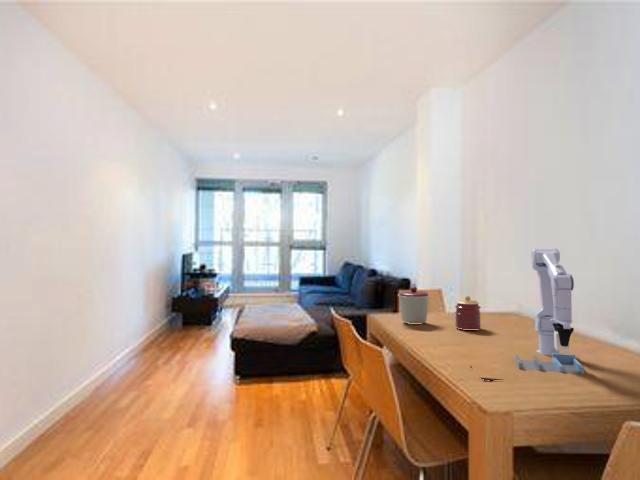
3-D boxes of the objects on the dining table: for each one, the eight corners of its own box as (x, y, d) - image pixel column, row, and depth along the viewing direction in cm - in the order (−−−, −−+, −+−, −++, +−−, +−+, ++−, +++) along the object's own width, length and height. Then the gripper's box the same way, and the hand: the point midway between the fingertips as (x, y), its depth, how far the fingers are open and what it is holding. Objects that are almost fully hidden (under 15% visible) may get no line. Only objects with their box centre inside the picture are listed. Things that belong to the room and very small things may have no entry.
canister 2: (484, 331, 217) (484, 297, 217) (459, 331, 217) (459, 297, 217) (475, 326, 230) (475, 294, 230) (452, 326, 230) (451, 294, 230)
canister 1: (392, 322, 244) (391, 286, 244) (417, 319, 251) (416, 284, 251) (411, 328, 227) (410, 289, 227) (437, 324, 235) (436, 287, 235)
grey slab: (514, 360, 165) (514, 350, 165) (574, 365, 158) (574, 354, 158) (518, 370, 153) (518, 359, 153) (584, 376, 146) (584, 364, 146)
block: (554, 347, 156) (554, 331, 156) (566, 347, 155) (566, 331, 155) (556, 350, 152) (556, 333, 152) (569, 350, 151) (568, 334, 151)
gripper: (546, 304, 161) (547, 339, 161) (554, 310, 148) (554, 348, 148) (567, 304, 159) (567, 340, 159) (576, 311, 145) (577, 350, 145)
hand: (562, 344), depth 153 cm, fingers closed on block, 4 cm apart
